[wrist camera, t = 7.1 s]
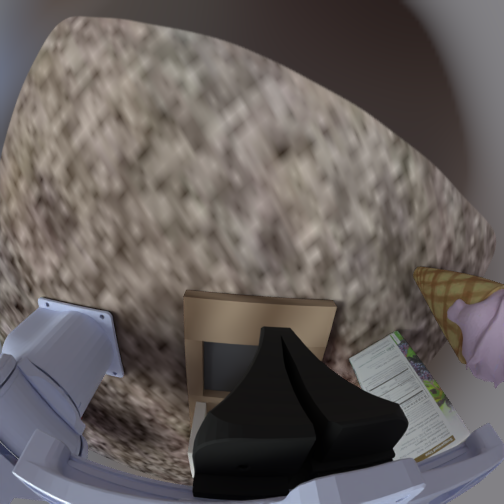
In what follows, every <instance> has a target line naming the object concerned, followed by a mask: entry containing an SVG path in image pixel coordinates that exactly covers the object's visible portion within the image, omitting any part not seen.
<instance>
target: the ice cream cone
mask: <svg viewBox="0 0 504 504" xmlns="http://www.w3.org/2000/svg"><path fill="white" fill-rule="evenodd" d="M413 277H414V280H415V281H416V283H417V285H418V287H419V289H420V291H421V292H422V294H423V296H424V298H425V300H426V302H427V304H428V306H429V308H430V310H431V311H432V313H433V315H434V317H435V319H436V321H437V322H438V324H439V326H440V328H441V330H442V331H443V333H444V335H445V337H446V338H447V340H448V341H449V343H450V345H451V347H452V348H453V350H454V352H455V353H456V355H457V357H458V358H459V360H460V361H461V363H463V364H466V369H467V367H469V368H470V370H471V372H472V374H473V375H474V376H475V377H476V378H478V379H481V380H484V381H490V382H494V386H495V388H496V387H497V386H498V385H499V384H500V383H501V382H504V284H501V283H498V282H495V281H491V280H488V279H485V278H482V277H478V276H474V275H469V274H465V273H460V272H454V271H448V270H442V269H435V268H428V267H417V268H416V269H415V271H414V274H413Z"/></svg>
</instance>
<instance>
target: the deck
mask: <svg viewBox="0 0 504 504" xmlns="http://www.w3.org/2000/svg"><path fill="white" fill-rule="evenodd" d="M183 303H184V340H185V361H186V377H187V390H188V402H189V413H190V423H191V429H192V423H193V417H194V412H195V406H196V402H203V403H206V415H207V414H208V412H209V411H210V410H212V409H213V408H214V407H215V406H217V405H218V404H219V403H220V402H221V401H222V400H223V399H224V398H225V397H226V396H227V395H228V394H229V393H230V392H231V391H232V390H233V389H234V388H235V387H236V385H237V384H238V383H239V381H240V380H241V379H242V377H243V376H244V374H245V373H246V371H247V370H248V368H249V366H250V364H251V363H252V360H253V358H254V356H255V354H256V352H257V349H258V345H259V338H260V331H261V328H262V327H263V326H268V327H287V328H291V329H292V330H293V331H294V332H295V334H296V335H297V336H298V337H299V338H300V340H301V341H302V342H303V343H304V344H305V345H306V346H307V348H308V349H309V350H310V351H311V352H312V353H313V354H314V355H315V356H316V357H317V358H318V359H319V360H321V361H322V359H323V355H324V352H325V349H326V345H327V342H328V338H329V335H330V331H331V327H332V324H333V320H334V316H335V312H336V308H337V306H336V305H335V303H334V302H333V300H315V299H295V298H278V297H263V296H249V295H236V294H224V293H213V292H202V291H192V290H186V292H185V294H184V296H183Z"/></svg>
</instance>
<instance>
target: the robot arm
mask: <svg viewBox="0 0 504 504" xmlns="http://www.w3.org/2000/svg"><path fill="white" fill-rule="evenodd" d="M38 304H39V308H38V309H37V310H36V311H34V312H33V313H32V314H31V315H30V316H29V317H27V318H26V319H25V320H24V321H23V322H22V323H21V324H19V325H18V326H17V327H16V328H15V329H14V330H13V331H12V332H11V333H10V334H9V335H8V336H7V338H6V340H5V342H4V345H3V348H2V353H1V354H0V441H1V442H2V443H3V444H4V445H5V446H6V447H7V448H8V449H9V450H10V451H11V452H12V453H13V454H14V455H16V457H18V458H19V460H18V459H17V458H16V457H15V456H14V455H12V454H11V453H10V452H9V451H8V450H7V449H6V448H5V447H4V446H3V445H2V444H1V443H0V504H10V503H11V502H12V500H13V499H14V498H22V499H30V500H40V501H47V502H48V503H50V504H446V503H448V502H449V501H451V500H453V499H454V498H456V497H458V496H459V495H461V494H463V493H464V492H466V491H467V490H469V489H470V488H472V487H473V486H475V485H476V484H478V483H479V482H480V481H481V480H483V479H484V478H485V477H486V476H487V475H488V474H490V473H491V472H492V471H493V470H494V469H495V468H496V467H497V466H498V465H499V464H500V463H501V462H502V461H503V460H504V444H503V442H502V441H501V439H500V438H499V436H498V435H497V433H496V432H495V430H494V429H493V427H492V426H491V425H490V423H487V424H485V425H483V426H481V427H480V428H478V429H476V430H475V431H473V432H472V433H471V434H470V435H469V436H468V438H467V439H466V440H465V442H463V443H461V444H459V445H457V446H455V447H453V448H451V449H449V450H446V451H444V452H442V453H440V454H437V455H435V456H432V457H430V458H427V459H425V460H422V461H420V462H417V463H416V461H415V460H414V459H413V458H404V459H398V460H395V461H393V459H392V458H394V457H395V452H394V450H393V448H394V446H395V445H396V444H397V443H398V442H399V440H400V439H401V438H402V437H403V435H404V434H405V432H406V430H407V428H408V425H409V422H408V419H407V418H406V416H405V414H404V412H403V410H402V409H401V407H400V405H399V404H398V403H395V402H392V401H389V400H386V399H383V398H380V397H378V396H375V395H373V394H371V393H369V392H366V391H364V390H362V389H360V388H358V387H357V386H355V385H353V384H351V383H350V382H348V381H346V380H345V379H343V378H342V377H340V376H339V375H338V374H336V373H335V372H334V371H332V370H331V369H330V368H328V367H327V366H326V365H325V364H324V363H323V362H322V361H321V360H319V359H318V358H317V357H316V356H315V355H314V354H313V353H312V352H311V351H310V350H309V349H308V348H307V346H306V345H305V344H304V343H303V342H302V341H301V340H300V338H299V337H298V336H297V335H296V334H295V332H294V331H293V330H292V329H291V328H287V327H268V326H263V327H262V328H261V331H260V338H259V345H258V349H257V352H256V354H255V356H254V358H253V360H252V363H251V364H250V366H249V368H248V370H247V371H246V373H245V374H244V376H243V377H242V379H241V380H240V381H239V383H238V384H237V385H236V387H235V388H234V389H233V390H232V391H231V392H230V393H229V394H228V395H227V396H226V397H225V398H224V399H223V400H222V401H221V402H220V403H219V404H218V405H217V406H215V407H214V408H213V409H212V410H210V411H209V412H208V414H207V415H206V417H205V419H204V420H203V422H202V424H201V426H200V428H199V430H198V432H197V434H196V437H195V440H194V445H193V453H192V458H193V465H194V481H193V486H187V485H180V484H174V483H169V482H163V481H159V480H154V479H150V478H145V477H141V476H137V475H134V474H130V473H127V472H123V471H120V470H116V469H113V468H110V467H107V466H104V465H101V464H98V463H96V462H93V461H90V460H88V459H87V458H88V444H87V441H86V439H85V438H84V436H82V433H83V431H84V429H85V427H86V425H85V424H84V423H83V422H82V421H81V417H82V415H83V413H84V411H85V410H86V408H87V406H88V404H89V402H90V400H91V399H92V397H93V395H94V393H95V391H96V390H97V388H98V386H99V384H100V382H101V381H102V379H103V377H104V375H105V374H108V375H112V376H116V377H121V378H122V377H123V376H124V370H123V366H122V362H121V358H120V353H119V348H118V343H117V338H116V333H115V327H114V322H113V316H112V314H111V313H110V312H108V311H102V310H97V309H92V308H87V307H82V306H77V305H73V304H68V303H64V302H59V301H55V300H51V299H47V298H43V297H40V298H39V299H38ZM102 315H103V316H104V317H103V316H102Z"/></svg>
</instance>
